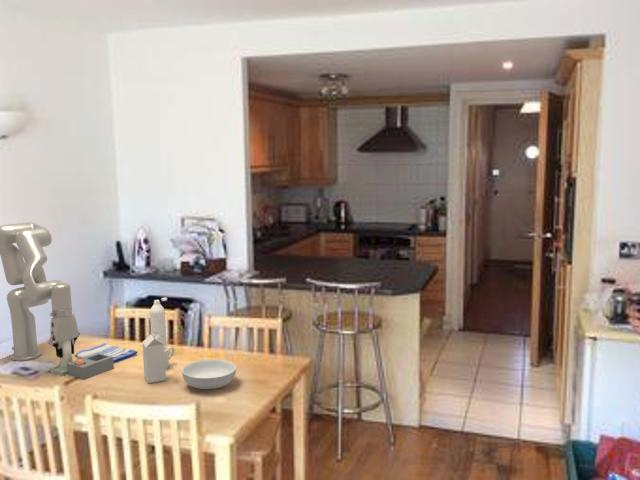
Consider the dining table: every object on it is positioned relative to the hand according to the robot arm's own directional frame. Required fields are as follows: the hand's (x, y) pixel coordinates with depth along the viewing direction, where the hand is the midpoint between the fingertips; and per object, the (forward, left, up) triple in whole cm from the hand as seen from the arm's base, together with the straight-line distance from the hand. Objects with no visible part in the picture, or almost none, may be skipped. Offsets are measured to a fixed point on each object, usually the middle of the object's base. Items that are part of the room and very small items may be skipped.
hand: (65, 354), depth 251 cm
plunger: (+10, 0, -4) cm, 11 cm away
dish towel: (-1, +21, -8) cm, 22 cm away
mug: (+31, +23, -7) cm, 39 cm away
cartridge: (0, 0, -4) cm, 4 cm away
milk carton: (+40, +12, -7) cm, 42 cm away
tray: (0, 0, -7) cm, 7 cm away
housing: (+10, +4, -7) cm, 13 cm away
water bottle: (+18, +36, -7) cm, 41 cm away
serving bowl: (+63, +19, -7) cm, 66 cm away
